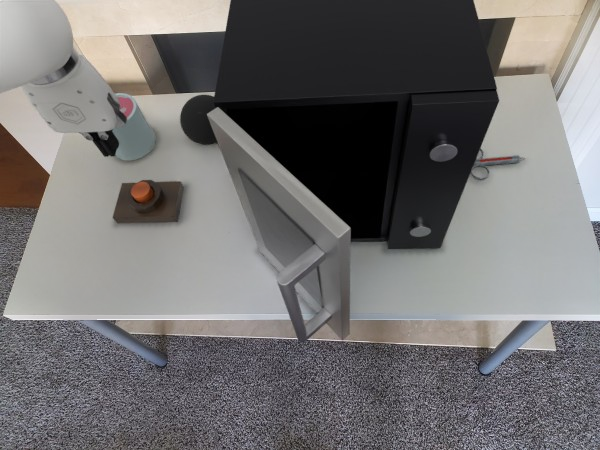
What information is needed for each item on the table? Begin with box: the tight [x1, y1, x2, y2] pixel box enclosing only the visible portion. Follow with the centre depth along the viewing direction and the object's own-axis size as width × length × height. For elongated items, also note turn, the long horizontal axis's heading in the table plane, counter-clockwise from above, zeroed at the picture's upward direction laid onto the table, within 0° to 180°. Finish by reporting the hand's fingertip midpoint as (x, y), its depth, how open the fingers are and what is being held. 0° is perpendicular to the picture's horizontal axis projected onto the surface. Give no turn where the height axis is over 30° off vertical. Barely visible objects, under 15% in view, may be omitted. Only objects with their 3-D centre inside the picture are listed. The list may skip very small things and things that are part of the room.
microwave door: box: [207, 107, 352, 343], centre depth 59 cm, size 7×22×35 cm, turn 40°
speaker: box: [179, 94, 218, 146], centre depth 90 cm, size 10×10×10 cm
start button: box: [131, 181, 153, 203], centre depth 83 cm, size 4×4×2 cm
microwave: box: [213, 0, 500, 250], centre depth 70 cm, size 30×31×35 cm
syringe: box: [470, 148, 528, 181], centre depth 84 cm, size 8×18×2 cm, turn 92°
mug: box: [112, 92, 157, 161], centre depth 92 cm, size 14×9×10 cm
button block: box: [112, 179, 185, 224], centre depth 85 cm, size 8×12×4 cm, turn 88°
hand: (112, 149), depth 73 cm, fingers closed
